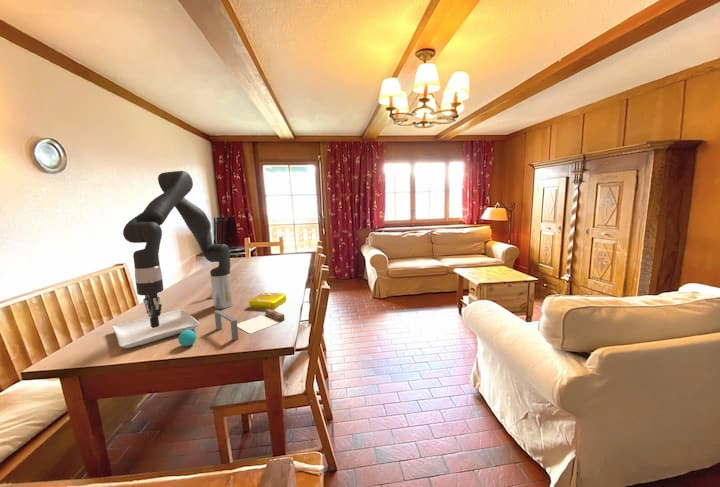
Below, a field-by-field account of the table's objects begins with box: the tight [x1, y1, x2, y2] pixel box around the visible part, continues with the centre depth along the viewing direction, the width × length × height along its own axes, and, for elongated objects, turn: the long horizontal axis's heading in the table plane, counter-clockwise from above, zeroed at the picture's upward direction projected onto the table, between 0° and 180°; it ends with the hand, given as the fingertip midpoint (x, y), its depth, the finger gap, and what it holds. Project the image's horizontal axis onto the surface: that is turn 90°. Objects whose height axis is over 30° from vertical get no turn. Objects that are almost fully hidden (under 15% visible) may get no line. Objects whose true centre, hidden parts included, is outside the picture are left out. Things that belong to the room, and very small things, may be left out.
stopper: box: [264, 309, 285, 322], centre depth 137 cm, size 13×2×2 cm, turn 49°
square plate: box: [111, 308, 201, 349], centre depth 125 cm, size 27×27×4 cm
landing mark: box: [237, 314, 280, 335], centre depth 130 cm, size 14×14×1 cm
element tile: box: [248, 292, 287, 311], centre depth 155 cm, size 15×15×5 cm
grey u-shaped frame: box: [214, 309, 239, 341], centre depth 120 cm, size 17×2×8 cm, turn 49°
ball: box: [177, 329, 197, 347], centre depth 111 cm, size 6×6×6 cm
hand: (155, 326), depth 103 cm, fingers closed
